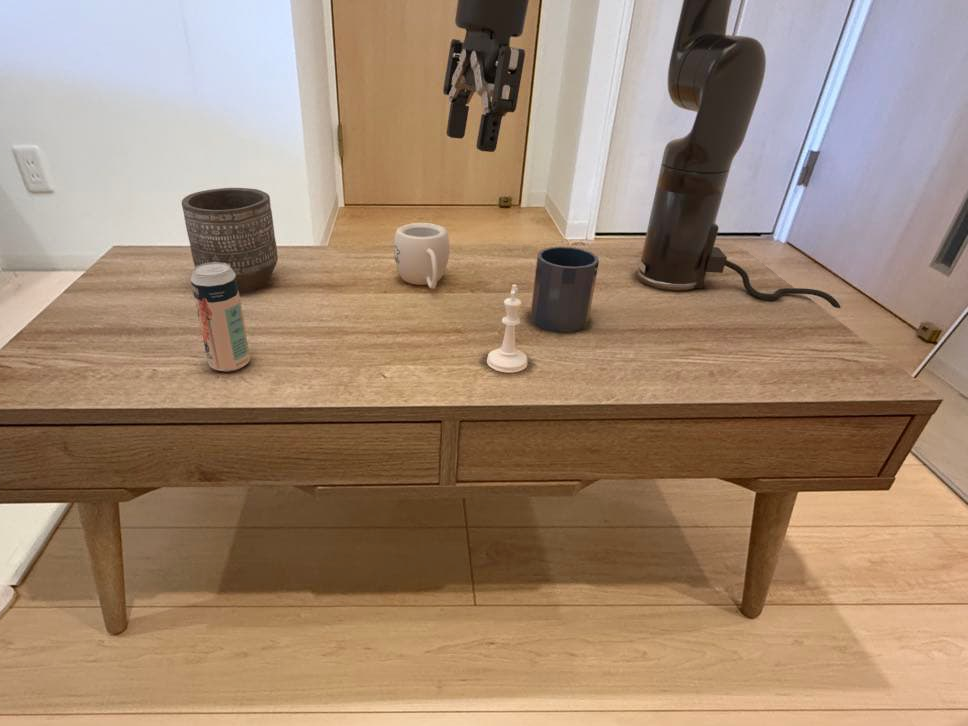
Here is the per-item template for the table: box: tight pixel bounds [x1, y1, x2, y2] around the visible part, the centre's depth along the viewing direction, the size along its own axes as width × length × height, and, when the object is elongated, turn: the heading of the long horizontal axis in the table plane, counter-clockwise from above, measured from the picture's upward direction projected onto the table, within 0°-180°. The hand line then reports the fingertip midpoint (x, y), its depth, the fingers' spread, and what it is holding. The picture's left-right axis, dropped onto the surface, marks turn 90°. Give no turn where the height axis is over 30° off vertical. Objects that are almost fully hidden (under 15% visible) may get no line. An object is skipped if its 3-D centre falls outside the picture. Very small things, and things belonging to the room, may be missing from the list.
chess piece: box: [486, 283, 528, 374], centre depth 71 cm, size 5×5×10 cm
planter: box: [181, 187, 279, 294], centre depth 90 cm, size 12×12×13 cm
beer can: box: [190, 262, 251, 373], centre depth 70 cm, size 5×5×12 cm
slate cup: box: [530, 246, 600, 333], centre depth 82 cm, size 8×8×9 cm
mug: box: [393, 222, 450, 290], centre depth 92 cm, size 12×8×8 cm
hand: (469, 143), depth 73 cm, fingers open, 8 cm apart
